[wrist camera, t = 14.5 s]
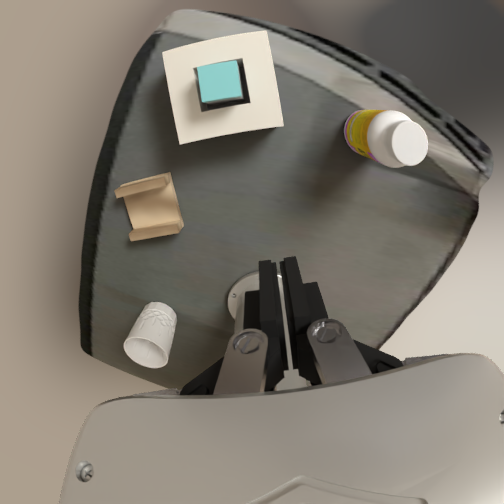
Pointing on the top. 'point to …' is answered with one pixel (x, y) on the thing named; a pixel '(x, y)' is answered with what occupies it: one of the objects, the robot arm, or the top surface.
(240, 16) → the top surface
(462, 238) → the top surface
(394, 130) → the supplement bottle
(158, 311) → the white cup
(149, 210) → the cradle
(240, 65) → the port block
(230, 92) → the plug
